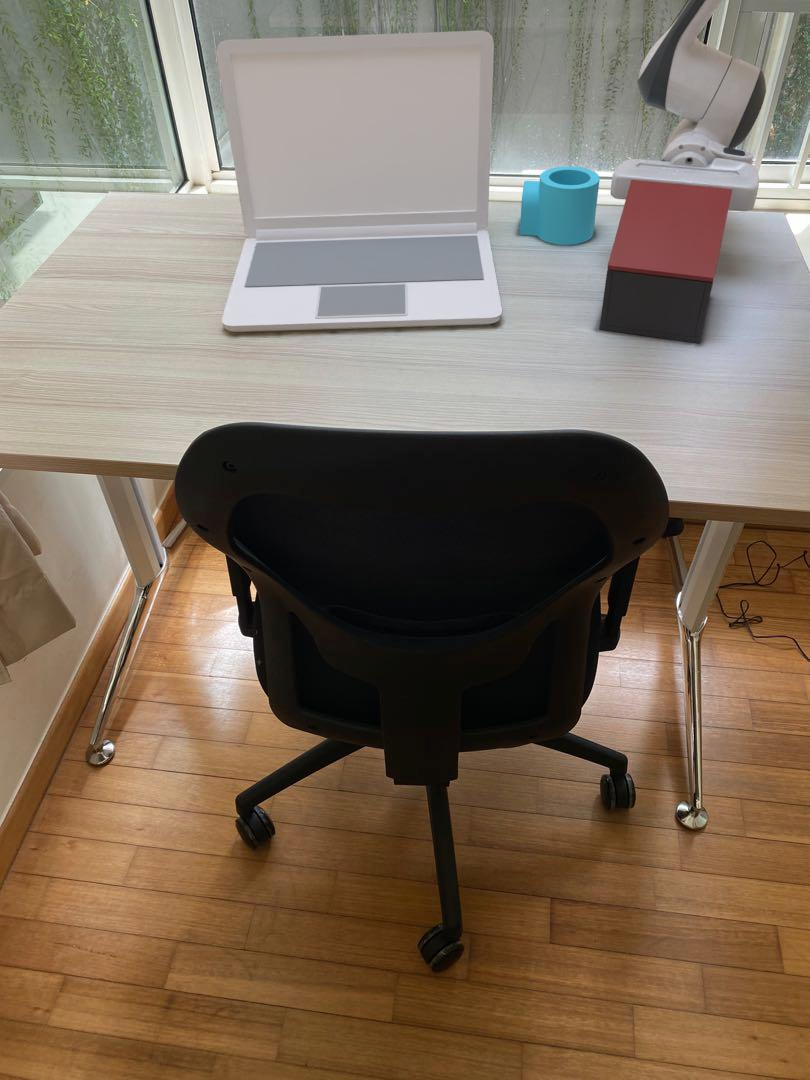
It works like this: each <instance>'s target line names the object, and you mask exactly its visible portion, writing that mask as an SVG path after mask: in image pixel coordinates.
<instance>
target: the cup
mask: <svg viewBox="0 0 810 1080" xmlns="http://www.w3.org/2000/svg"><path fill="white" fill-rule="evenodd" d="M600 179H601V178H600V175H599V173H597V172H596V171H594V170H591V169H589V168H585V167H580V166H570V165H569V166H557V167H556V166H555V167H552V168H548V169H546V170H544V171H542V172H541V173H540V175H539V180H524V182H523V187H522V193H521V205H520V221H519V235H520V236H532V237H533V236H534V237H535V236H536V237H537V238H539V239H540V240H541V241H544V242H546V243H548V244H552V245H553V244H554V245H558V246H559V245H560V246H574V245H579V244H582V243H585V242H588V241H589V240H591V239H592V238H593V236H594V229H595V223H596V222H595V221H596V212H597V205H598V195H599V189H600V188H599V187H600Z"/></svg>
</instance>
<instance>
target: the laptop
mask: <svg viewBox="0 0 810 1080" xmlns="http://www.w3.org/2000/svg"><path fill="white" fill-rule="evenodd" d="M493 37H494V36H492V34H490V33H489V31H486V30H481V29H480V30H458V31H457V30H456V31H429V32H407V33H406V32H400V33H399V32H398V33H374V34H373V33H371V34H352V35H350V34H349V35H347V34H346V35H321V36H320V35H319V36H317V35H316V36H291V37H290V36H289V37H272V38H271V37H266V38H240V39H239V38H238V39H237V38H236V39H225V40H223V41H220V42H219V44H218V45H217V46H216V60H217V66H218V73H219V79H220V85H221V92H222V98H223V99H222V100H223V104H224V110H225V116H226V117H225V118H226V123H227V128H228V137H229V142H230V149H231V155H232V161H233V166H234V167H233V168H234V171H235V179H236V186H237V191H238V197H239V203H240V210H241V216H242V222H243V223H242V224H243V229H244V235H245V236H247V237H249V238H245V239H244V243H243V246H242V249H241V253H240V256H239V259H238V263H237V266H236V270H235V273H234V277H233V280H232V283H231V286H230V290H229V293H228V296H227V299H226V303H225V307H224V310H223V314H222V316H221V324H222V327H223V328H224V329H225V330H227V331H229V332H231V333H252V332H253V333H255V332H258V333H259V332H284V331H285V332H286V331H289V332H290V331H313V330H314V331H317V330H349V329H381V328H382V329H383V328H385V329H386V328H415V327H416V328H417V327H438V326H439V327H444V326H445V327H447V326H478V325H493V324H496V323H497V322H499V321H500V320H501V316H502V313H503V306H502V301H501V296H500V292H499V286H498V280H497V274H496V269H495V264H494V258H493V252H492V246H491V241H490V235H489V231H488V230H484V229H487V228H488V225H489V207H490V206H489V205H490V204H489V203H490V202H489V201H490V175H491V149H492V148H491V145H492V113H493V91H494V90H493V87H494V86H493V85H494V59H495V57H494V56H495V55H494V54H495V42H494V38H493Z"/></svg>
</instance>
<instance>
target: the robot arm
mask: <svg viewBox="0 0 810 1080" xmlns="http://www.w3.org/2000/svg"><path fill="white" fill-rule="evenodd" d="M723 1H724V0H686V1H685V3H684V5H683V6H682V8H681V9H680V11H679V12H678V13H677V16H675V18H674V20H673V21H672V23H671V24H670V25H669V27H668V28H667V30H666V31H665V32H664V34H663V35H662V36H660V38H658V40H657V41H656V42H655V43H654V45H653V46H652V47H650V49H649V51H648V52H647V54H646V56H645V58H644V59H643V62H642V64H641V65H640V68H639V72H638V78H637V80H636V82H637V83H636V84H637V86H638V90H639V93H640V95H641V98H642V99H643V101H644V103H645V105H646V106H648V107H649V106H650V107H652V108H655V109H658V110H661V111H665V112H670V113H671V114H674V115H677V116H678V117H681V118H682V119H681V120H680V121H679V122H678V124H677V125H676V126H675V127H674V128H673V130H672V132H671V133H670V135H669V137H668V139H667V142H666V144H665V148H664V151H663V153H662V155H661V158H660V160H656V159H643V158H629V159H626V160H624V161H622V162H621V163H620V164H618V165H616V167H615V170H614V171H613V173H612V176H611V177H612V178H611V184H610V196H611V197H613V198H614V199H617V200H624V201H626V197H627V193H628V190H629V186H630V182H631V180H641V181H652V182H663V183H673V184H684V185H694V186H705V187H715V188H726V189H732V194H731V199H730V204H729V208H728V211H737V212H749V211H752V210H753V209H754V207H755V204H756V200H757V198H758V197H757V196H758V192H759V188H760V187H759V186H760V178H759V177H760V176H759V172H758V169H757V167H756V166H755V165H754V164H753V161H754V155H753V153H751V152H749V151H745V150H741V149H736V148H737V147H739V146H740V145H741V144H742V143H743V142H744V141H745V140H746V138H747V137H748V135H749V134H750V132H751V130H752V129H753V127H754V125H755V123H756V121H757V119H758V117H759V115H760V112H761V110H762V108H763V105H764V101H765V97H766V93H767V85H766V78H765V74H764V72H763V70H762V68H760V67H758V66H756V65H753V64H751V63H750V62H747V61H745V60H743V59H740V58H738V57H736V56H733V55H730V54H727V53H725V52H723V51H722V50H719V49H716V48H714V47H711V46H710V45H708V44H705V43H703V42H702V41H700V40H699V38H698V36H699V35H700V33H701V32H702V30H703V29H704V27H705V26H706V25H707V23H708V22H709V20H711V18H712V16H714V14H715V12H716V11H717V10H718V8H719V7H720V5H721V4H722V2H723Z"/></svg>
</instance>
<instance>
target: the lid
mask: <svg viewBox="0 0 810 1080" xmlns="http://www.w3.org/2000/svg"><path fill="white" fill-rule="evenodd" d="M731 194H732V189H726V188H715V187H705V186H694V185H684V184H673V183H663V182H652V181H641V180H631V182H630V186H629V190H628V193H627V197H626V200H624V204H623V209H622V212H621V214H620V215H621V216H620V220H619V223H618V226H617V231H616V233H615V238H614V241H613V244H612V249H611V252H610V256H609V259H608V263H607V270H608V269H609V270H618V271H626V272H634V273H642V274H650V275H659V276H667V277H675V278H683V279H691V280H699V281H708V282H713V283H714V280H715V275H716V271H717V265H718V261H719V256H720V251H721V247H722V242H723V237H724V233H725V227H726V222H727V218H728V213H729V210H728V208H729V204H730V199H731Z"/></svg>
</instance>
